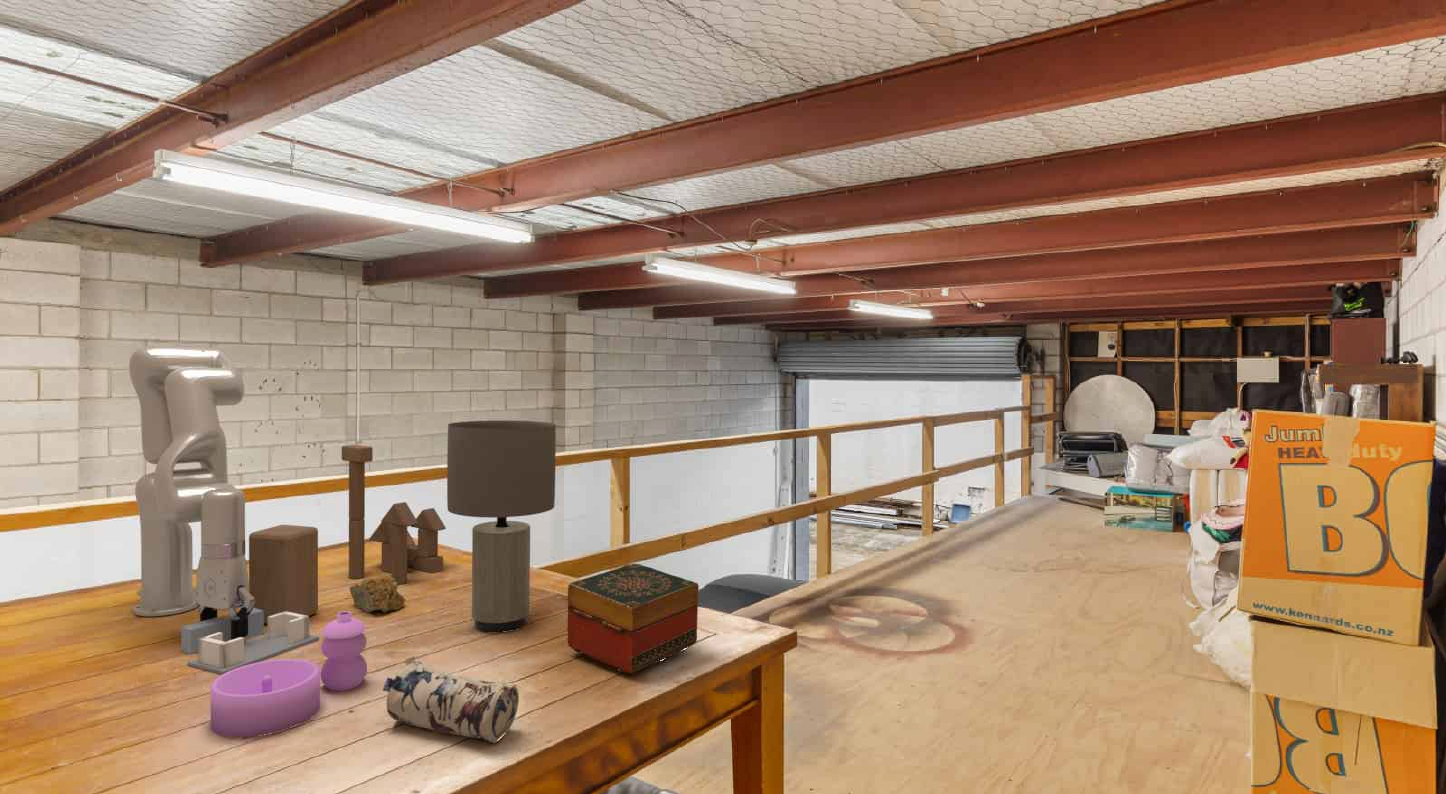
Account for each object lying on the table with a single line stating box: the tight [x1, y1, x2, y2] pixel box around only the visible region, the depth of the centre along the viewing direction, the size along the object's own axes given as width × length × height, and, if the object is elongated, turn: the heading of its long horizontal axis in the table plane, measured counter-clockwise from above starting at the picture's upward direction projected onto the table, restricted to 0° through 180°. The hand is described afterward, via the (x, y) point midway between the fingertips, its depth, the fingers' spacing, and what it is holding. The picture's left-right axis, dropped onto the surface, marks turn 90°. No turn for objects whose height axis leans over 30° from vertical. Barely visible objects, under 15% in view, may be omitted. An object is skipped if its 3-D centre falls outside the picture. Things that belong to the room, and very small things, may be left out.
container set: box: [210, 610, 368, 738], centre depth 129 cm, size 25×15×13 cm, turn 151°
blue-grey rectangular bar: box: [180, 608, 265, 655], centre depth 157 cm, size 14×4×5 cm, turn 151°
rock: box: [349, 576, 406, 613], centre depth 180 cm, size 12×9×10 cm
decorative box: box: [567, 563, 700, 675], centre depth 154 cm, size 20×22×16 cm
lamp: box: [446, 420, 557, 633], centre depth 170 cm, size 23×23×44 cm
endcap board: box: [187, 611, 320, 675], centre depth 151 cm, size 10×20×5 cm, turn 157°
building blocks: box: [341, 444, 447, 585], centre depth 207 cm, size 19×25×35 cm
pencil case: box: [382, 655, 520, 744], centre depth 122 cm, size 22×8×10 cm, turn 69°
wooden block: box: [248, 524, 319, 625], centre depth 171 cm, size 10×10×20 cm
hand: (224, 633), depth 157 cm, fingers open, 8 cm apart
